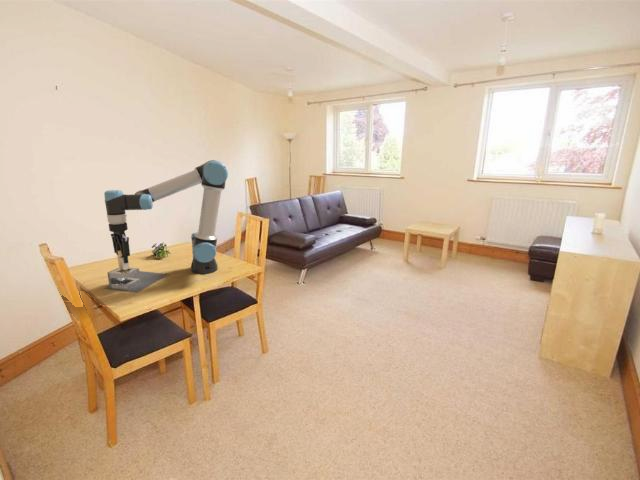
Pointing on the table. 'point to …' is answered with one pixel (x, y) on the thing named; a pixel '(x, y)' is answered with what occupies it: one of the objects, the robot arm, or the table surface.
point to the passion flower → (157, 251)
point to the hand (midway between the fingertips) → (124, 267)
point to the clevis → (123, 279)
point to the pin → (121, 262)
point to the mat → (143, 280)
